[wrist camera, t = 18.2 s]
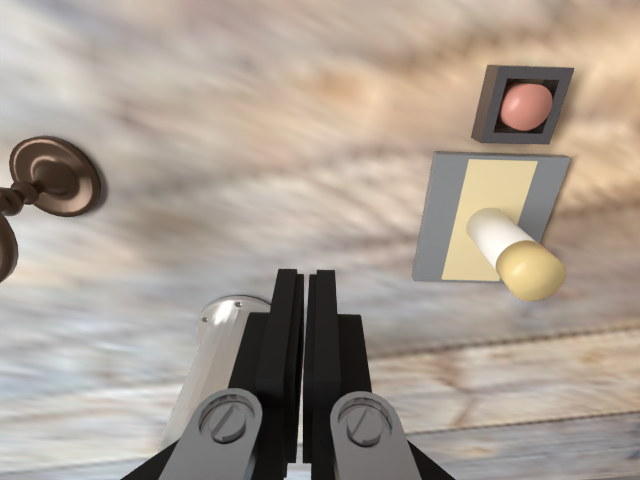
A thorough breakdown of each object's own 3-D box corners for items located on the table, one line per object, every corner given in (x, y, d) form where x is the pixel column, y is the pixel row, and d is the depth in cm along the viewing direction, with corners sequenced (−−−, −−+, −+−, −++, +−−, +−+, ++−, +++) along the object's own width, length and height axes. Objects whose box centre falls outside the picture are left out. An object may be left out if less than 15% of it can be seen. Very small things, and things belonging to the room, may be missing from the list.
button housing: (535, 139, 37) (549, 144, 34) (471, 137, 37) (480, 142, 34) (558, 67, 33) (574, 67, 31) (487, 65, 33) (499, 65, 31)
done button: (527, 125, 36) (544, 131, 33) (488, 124, 36) (502, 129, 33) (540, 82, 34) (558, 85, 31) (499, 81, 34) (514, 83, 31)
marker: (500, 243, 41) (555, 301, 31) (461, 242, 41) (504, 300, 31) (511, 207, 39) (573, 257, 29) (470, 206, 39) (519, 256, 29)
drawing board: (519, 278, 45) (525, 284, 44) (411, 275, 45) (414, 281, 44) (564, 155, 37) (571, 158, 36) (434, 151, 37) (437, 154, 36)
